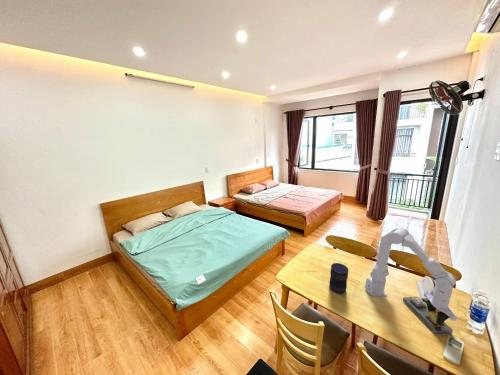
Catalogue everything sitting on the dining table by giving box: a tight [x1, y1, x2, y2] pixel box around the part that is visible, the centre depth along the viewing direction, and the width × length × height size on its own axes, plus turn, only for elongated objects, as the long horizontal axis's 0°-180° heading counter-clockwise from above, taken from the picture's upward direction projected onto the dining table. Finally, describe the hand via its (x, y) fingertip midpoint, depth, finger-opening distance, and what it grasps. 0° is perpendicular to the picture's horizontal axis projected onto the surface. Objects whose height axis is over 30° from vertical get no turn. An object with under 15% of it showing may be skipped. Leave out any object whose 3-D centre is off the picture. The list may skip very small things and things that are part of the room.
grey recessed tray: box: [402, 296, 454, 336], centre depth 103 cm, size 8×20×2 cm, turn 2°
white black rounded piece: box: [415, 275, 436, 301], centre depth 117 cm, size 17×5×10 cm, turn 149°
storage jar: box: [328, 262, 349, 295], centre depth 122 cm, size 10×10×15 cm
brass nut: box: [427, 309, 443, 326], centre depth 98 cm, size 4×4×6 cm
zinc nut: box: [411, 296, 426, 309], centre depth 108 cm, size 4×4×6 cm
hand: (435, 319), depth 98 cm, fingers closed on brass nut, 4 cm apart
